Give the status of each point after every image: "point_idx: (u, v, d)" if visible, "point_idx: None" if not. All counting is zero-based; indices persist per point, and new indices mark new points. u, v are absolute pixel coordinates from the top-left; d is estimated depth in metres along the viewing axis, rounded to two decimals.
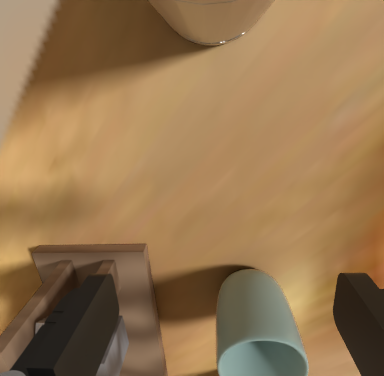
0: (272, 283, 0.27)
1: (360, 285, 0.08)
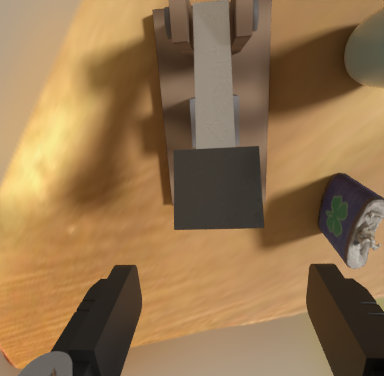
0: None
1: (327, 274, 0.09)
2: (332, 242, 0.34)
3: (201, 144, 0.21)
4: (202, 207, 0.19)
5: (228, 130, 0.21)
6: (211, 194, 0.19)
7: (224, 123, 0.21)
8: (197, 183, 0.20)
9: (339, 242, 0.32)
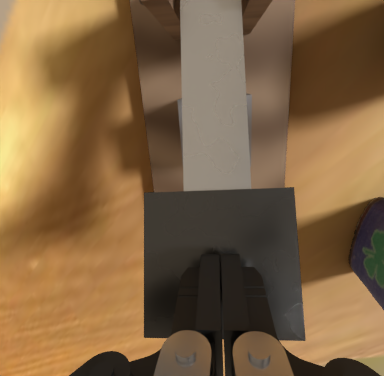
0: None
1: (227, 263, 0.09)
2: (373, 292, 0.25)
3: (192, 182, 0.12)
4: None
5: (239, 157, 0.12)
6: None
7: (232, 145, 0.12)
8: (185, 253, 0.11)
9: None
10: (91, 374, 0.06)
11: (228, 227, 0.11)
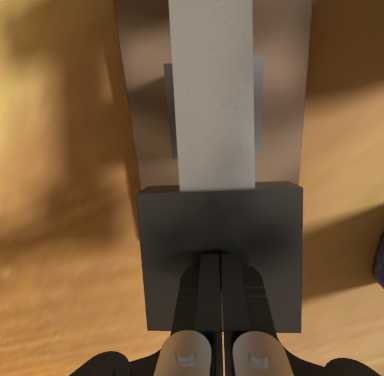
0: None
1: (227, 262, 0.09)
2: None
3: (188, 179, 0.11)
4: None
5: (242, 150, 0.10)
6: None
7: (234, 135, 0.10)
8: (183, 256, 0.11)
9: None
10: (91, 374, 0.06)
11: (229, 230, 0.10)
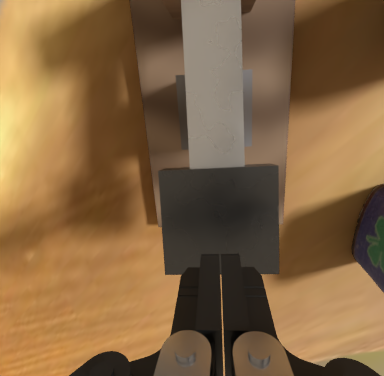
0: None
1: (227, 263, 0.09)
2: (378, 280, 0.25)
3: (196, 160, 0.15)
4: (200, 248, 0.15)
5: (235, 139, 0.14)
6: (211, 232, 0.15)
7: (229, 128, 0.14)
8: (192, 217, 0.15)
9: None
10: (91, 374, 0.06)
11: (225, 197, 0.14)
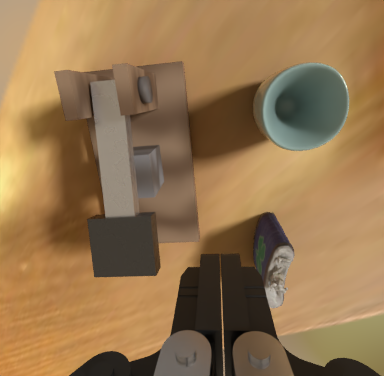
0: None
1: (227, 263, 0.09)
2: None
3: (108, 213, 0.26)
4: (112, 261, 0.27)
5: (128, 201, 0.26)
6: (118, 252, 0.26)
7: (125, 195, 0.26)
8: (107, 244, 0.26)
9: None
10: (91, 374, 0.06)
11: (124, 233, 0.26)
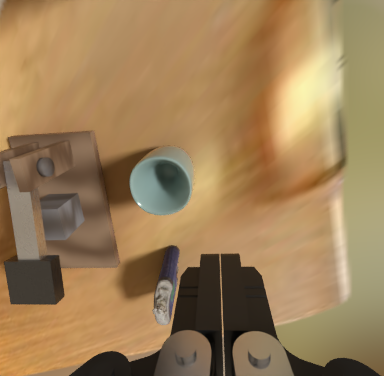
0: (181, 148, 0.37)
1: (227, 263, 0.09)
2: None
3: (20, 257, 0.35)
4: (23, 293, 0.35)
5: (34, 249, 0.35)
6: (27, 286, 0.35)
7: (32, 245, 0.34)
8: (19, 280, 0.35)
9: None
10: (91, 374, 0.06)
11: (31, 273, 0.35)
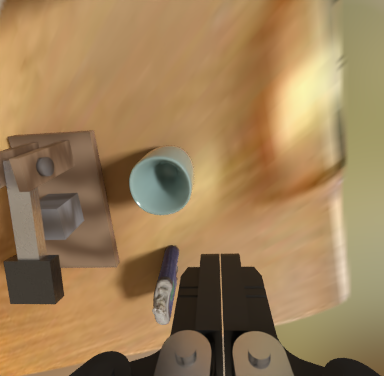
0: (181, 148, 0.37)
1: (227, 263, 0.09)
2: None
3: (20, 256, 0.35)
4: (23, 293, 0.35)
5: (34, 249, 0.35)
6: (27, 286, 0.35)
7: (31, 244, 0.35)
8: (19, 280, 0.35)
9: None
10: (91, 374, 0.06)
11: (31, 272, 0.35)
